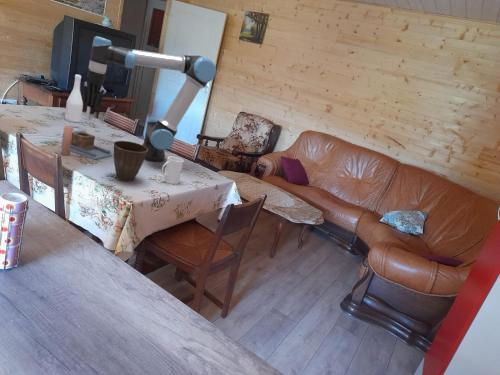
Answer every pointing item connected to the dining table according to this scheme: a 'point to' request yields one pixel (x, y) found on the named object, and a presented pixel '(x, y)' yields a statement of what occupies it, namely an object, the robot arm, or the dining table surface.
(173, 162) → the mug
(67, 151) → the dowel
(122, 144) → the plant pot
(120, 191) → the dining table surface
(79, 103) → the wine bottle
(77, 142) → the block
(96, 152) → the rail board
